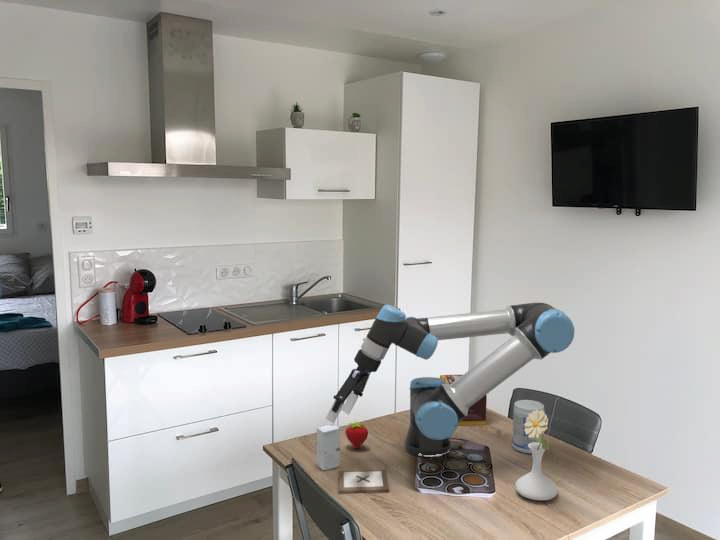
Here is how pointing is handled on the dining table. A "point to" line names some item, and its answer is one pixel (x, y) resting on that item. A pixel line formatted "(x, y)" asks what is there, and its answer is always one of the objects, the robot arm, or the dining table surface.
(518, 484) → the flower in vase
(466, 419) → the supplement box
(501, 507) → the dining table surface
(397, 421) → the dining table surface
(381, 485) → the tray with cross mark
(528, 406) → the supplement tub
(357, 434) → the strawberry
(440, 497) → the dining table surface
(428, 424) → the robot arm
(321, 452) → the skincare box
